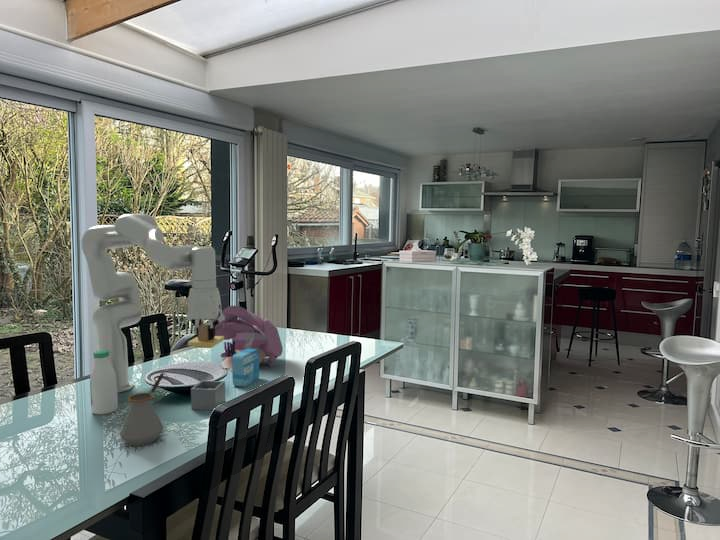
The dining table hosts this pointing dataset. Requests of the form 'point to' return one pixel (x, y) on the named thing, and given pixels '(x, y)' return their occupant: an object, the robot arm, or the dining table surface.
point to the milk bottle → (103, 384)
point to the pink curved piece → (248, 335)
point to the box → (207, 395)
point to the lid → (204, 338)
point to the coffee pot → (142, 419)
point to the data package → (245, 367)
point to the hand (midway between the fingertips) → (206, 338)
